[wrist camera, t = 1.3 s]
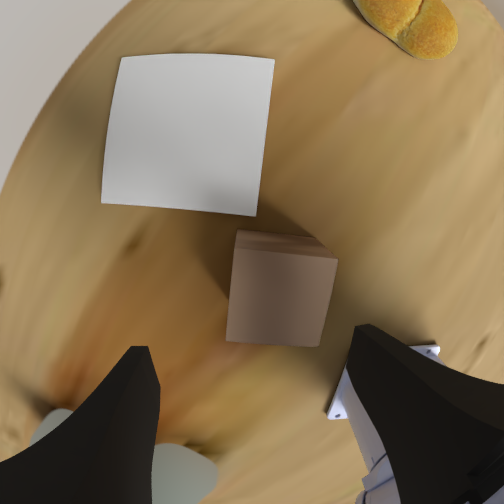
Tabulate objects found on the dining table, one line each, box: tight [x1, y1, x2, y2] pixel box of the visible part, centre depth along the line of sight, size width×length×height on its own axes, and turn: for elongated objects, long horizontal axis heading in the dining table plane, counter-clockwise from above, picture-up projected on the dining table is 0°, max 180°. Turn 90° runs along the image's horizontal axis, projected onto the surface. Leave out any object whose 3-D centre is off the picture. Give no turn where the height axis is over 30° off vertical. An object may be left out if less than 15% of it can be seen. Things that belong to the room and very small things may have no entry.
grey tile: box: [101, 54, 275, 217], centre depth 16 cm, size 10×10×1 cm
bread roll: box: [353, 0, 458, 60], centre depth 12 cm, size 8×9×4 cm
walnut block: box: [226, 229, 338, 347], centre depth 16 cm, size 5×5×5 cm
